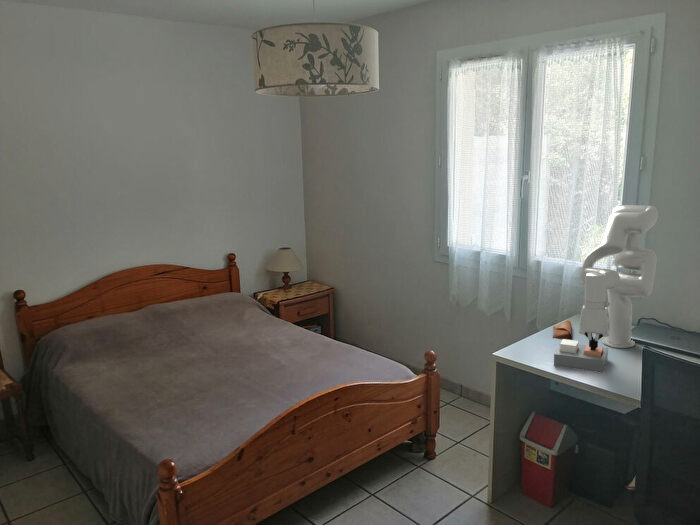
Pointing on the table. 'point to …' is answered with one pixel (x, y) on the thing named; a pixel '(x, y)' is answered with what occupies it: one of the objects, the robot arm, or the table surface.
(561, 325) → the sunglasses case
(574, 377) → the table surface
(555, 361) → the key console
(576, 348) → the offwhite key
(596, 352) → the orange square block
